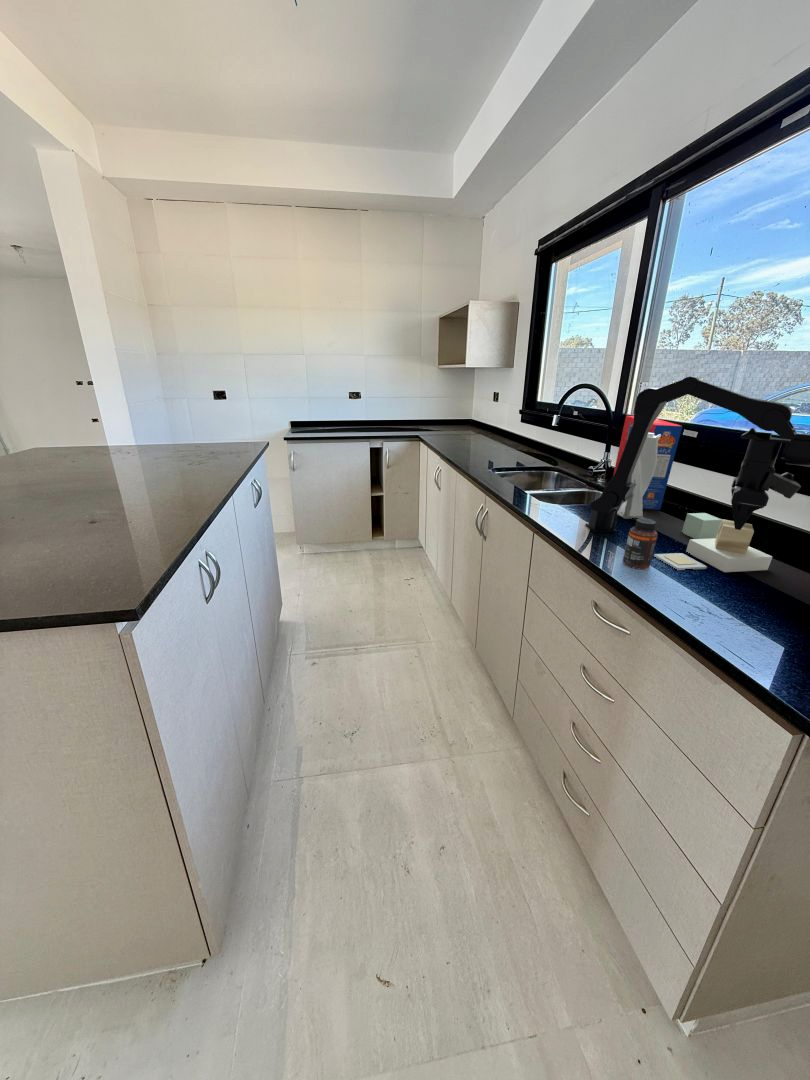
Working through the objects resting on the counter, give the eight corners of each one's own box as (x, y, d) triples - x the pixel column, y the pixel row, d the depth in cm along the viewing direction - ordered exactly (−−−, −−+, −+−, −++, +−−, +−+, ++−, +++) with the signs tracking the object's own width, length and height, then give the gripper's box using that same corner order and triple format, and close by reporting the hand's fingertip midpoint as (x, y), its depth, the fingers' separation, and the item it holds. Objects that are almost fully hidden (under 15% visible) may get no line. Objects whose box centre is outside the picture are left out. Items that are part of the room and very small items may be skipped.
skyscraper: (610, 511, 144) (629, 425, 133) (632, 511, 145) (653, 426, 134) (624, 519, 136) (646, 429, 126) (648, 519, 137) (671, 430, 127)
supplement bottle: (647, 561, 106) (658, 518, 101) (651, 571, 100) (663, 526, 96) (620, 557, 107) (631, 515, 103) (623, 567, 102) (634, 522, 98)
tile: (676, 570, 101) (677, 567, 101) (653, 556, 109) (654, 553, 108) (706, 568, 103) (707, 565, 102) (681, 555, 110) (682, 552, 110)
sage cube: (697, 540, 120) (703, 520, 118) (681, 532, 126) (687, 513, 124) (716, 539, 121) (722, 519, 119) (699, 532, 127) (705, 513, 125)
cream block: (723, 574, 102) (729, 558, 100) (685, 553, 112) (689, 539, 111) (766, 571, 103) (772, 556, 102) (724, 551, 114) (729, 537, 113)
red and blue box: (610, 487, 173) (626, 415, 162) (631, 488, 172) (648, 416, 161) (635, 508, 147) (655, 424, 136) (660, 510, 146) (682, 426, 135)
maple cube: (745, 554, 103) (754, 531, 100) (715, 548, 106) (723, 525, 103) (743, 546, 107) (751, 524, 105) (714, 541, 110) (722, 519, 108)
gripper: (811, 472, 87) (783, 543, 93) (800, 459, 101) (776, 521, 107) (743, 464, 93) (721, 531, 99) (742, 453, 107) (722, 512, 113)
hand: (737, 524), depth 104 cm, fingers open, 9 cm apart
